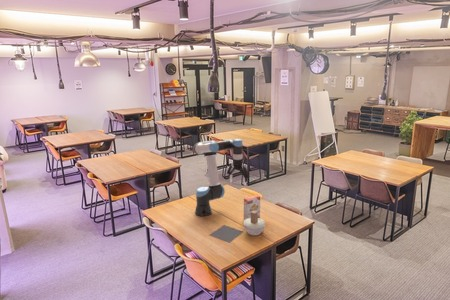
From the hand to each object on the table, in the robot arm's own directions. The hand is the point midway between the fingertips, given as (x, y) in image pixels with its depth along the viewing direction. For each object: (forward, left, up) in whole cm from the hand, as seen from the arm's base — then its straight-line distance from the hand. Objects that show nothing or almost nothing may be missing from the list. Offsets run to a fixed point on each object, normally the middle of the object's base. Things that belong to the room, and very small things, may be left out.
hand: (238, 183), depth 250 cm
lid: (+17, -3, -29) cm, 34 cm away
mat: (0, -17, -37) cm, 40 cm away
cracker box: (+4, +15, -37) cm, 40 cm away
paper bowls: (+17, -3, -37) cm, 41 cm away
